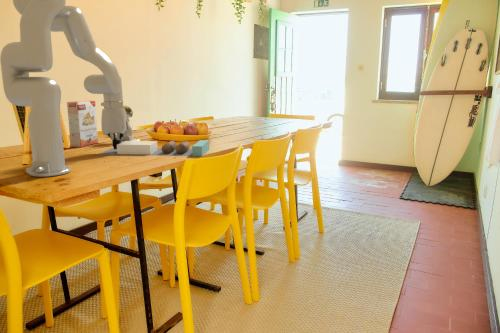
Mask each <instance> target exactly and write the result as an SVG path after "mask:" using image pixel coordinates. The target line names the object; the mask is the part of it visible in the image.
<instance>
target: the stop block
mask: <svg viewBox="0 0 500 333" xmlns="http://www.w3.org/2000/svg"><path fill="white" fill-rule="evenodd" d="M191 149H192V156H191V157H203V156H204V155H206V153H207V152H209V150H210V140H207V139H206V140H205V139H204V140H203V139H200V140H198V141H197V142H196V143H195V144H193V145H192V146H191Z"/></svg>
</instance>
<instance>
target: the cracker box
mask: <svg viewBox="0 0 500 333" xmlns="http://www.w3.org/2000/svg"><path fill="white" fill-rule="evenodd" d="M66 107H67V118H68V129H69V140H70V148H83V147H87V145H88V146H91V144H92V145H96V144H98V143H99V139H98V138H99V137H98V123H97V108H96V107H97V106H96V101H95V100H75V101H74V100H73V101H67V102H66Z"/></svg>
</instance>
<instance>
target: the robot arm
mask: <svg viewBox="0 0 500 333" xmlns="http://www.w3.org/2000/svg"><path fill="white" fill-rule="evenodd" d="M66 2H67V0H12V3H13V4H12V5H13V6H14V9H15V10H16V11H17V12H18V13H19V14H20V15H21V16H20V21H19V37H20V39H19V41H12V42H9V43H7V44H5V45H4V46H3V47H2V50H1V52H0V69H1V70H0V71H1V80H2V85H3V86H2V87H3V91H4V95H5V98H6V100H7V101H8V102H9V103H10V104H12V105H14V106H18V107H31V109H30V111H29V113H28V117H27V124H28V131H29V132H28V133H29V142H30V148H31V156H32V162H31V166H29V167H26V168H25V172H26V173H27V174H28V175H29V176H32V177H39V178H40V177H42V178H43V177H45V178H46V177H56V176H61V175H65V174H68V173H69V172H71V171H72V169H71V167H70V166H69V165H66V160H65V159H66V158H65V150H64V140H63V130H62V123H61V103H62V102H61V100H62V89H61V87H60V85H59V84H58V82H57V81H55V80H54V79H52V78H50V77H46V76H30V73H46V72H48V71H50V70H52V68H53V64H54V58H53V48H52V36H51V35H52V33H51V32H54V33H56V32H57V33H60V32H62V33H63V34H64V36H65V38H66V41H67V42H68V44H69V47H70V49H71V51H72V53H73V55H74V56H75V57H78V58H79V59H82V60H83V61H86V62H89V63H91V65H94V66H95V67H96V68H98V69H99V70H100V71H101V72H102V74H101V73H99V74H90V75H88V76H86V77H85V78H84V81H83V88H84V89H85V91H87V92H88V93H90V94H92V95H103V102H101V103H100V106H101V107H103V108H102V110H101V118H100V119H101V131H102V134H103V135H104V136H107V137H109V138H110V140H111V141H112V148H114V149H117V144H119V143H121V138H122V137H123V136H126V135H128V134H129V132H128V120H127V115H126V111H125V109H123V106H124V99H123V97H124V96H123V85H122V84H123V83H122V78H121V76H120V73H119V72H118V68H117V67H116V64H115V63H114V62H113V61H112V59H111V58H109V56H108V55H107V54H106V53H104V52H103V51H102V50H101V49H99V48H98V47H97V45H96V42H95V40H94V38H93V36H92V33H91V30H90V28H89V26H88V23H87V20H86V18H85V16H84V14H83V11H81V9H80V8H79V7H77V6H73V5H66Z"/></svg>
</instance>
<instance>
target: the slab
mask: <svg viewBox="0 0 500 333" xmlns="http://www.w3.org/2000/svg"><path fill="white" fill-rule="evenodd" d="M157 150H158V141H157V140H154V141H153V140H141V141H124V142H122V143H119V144H117V154H143V155H142V156H152V155H151V154H152V153H154V152H156V151H157Z"/></svg>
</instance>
